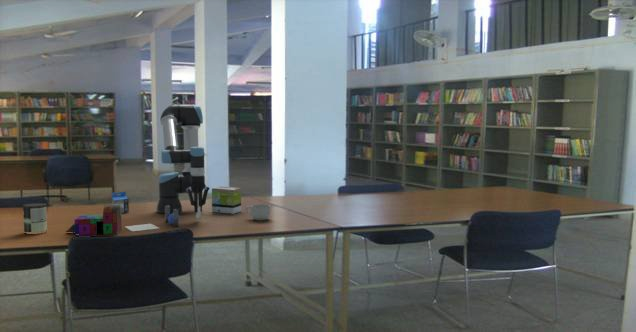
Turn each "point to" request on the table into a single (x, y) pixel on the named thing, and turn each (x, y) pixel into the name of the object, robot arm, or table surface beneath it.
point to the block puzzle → (99, 222)
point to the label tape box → (121, 201)
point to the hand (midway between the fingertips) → (198, 217)
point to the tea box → (226, 200)
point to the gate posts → (175, 215)
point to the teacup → (259, 211)
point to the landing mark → (141, 227)
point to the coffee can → (35, 217)
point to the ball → (171, 218)
